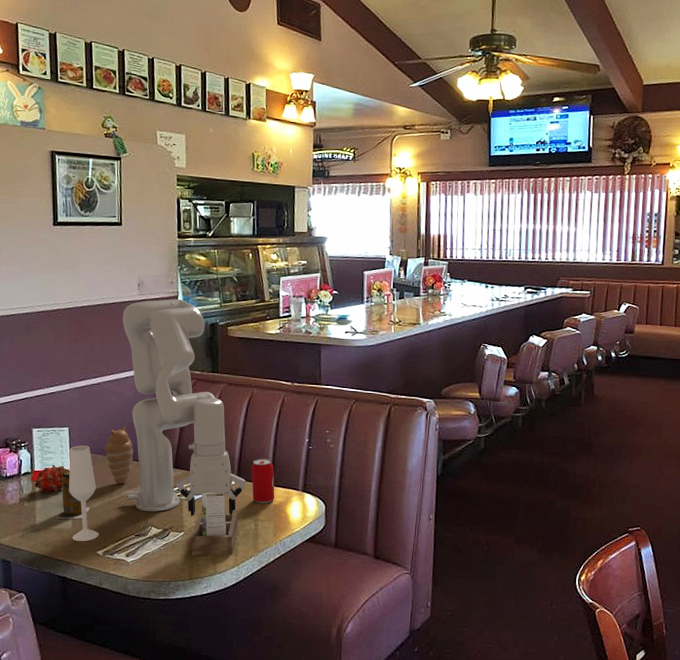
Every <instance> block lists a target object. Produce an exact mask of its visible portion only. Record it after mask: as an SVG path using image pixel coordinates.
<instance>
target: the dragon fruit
mask: <svg viewBox="0 0 680 660" xmlns="http://www.w3.org/2000/svg"><path fill="white" fill-rule="evenodd" d="M51 466H52V467H45V468H43V470H42V471H40V472H38V474H37V479H36V482H35V484H34V487H35V488H38V491H39V492H40V493H41V494H42V493H50V492H51V491H54V492H55V493H57V492H58V491H59V490H61V489H62V482H63V473H64V472H66V471H69V470H68V469H67V468H65V466H64V465H63V466H61V465H60V466H55V464H52V465H51Z"/></svg>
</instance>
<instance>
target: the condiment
mask: <svg viewBox="0 0 680 660" xmlns="http://www.w3.org/2000/svg"><path fill="white" fill-rule="evenodd" d="M69 477H70V469H69V470H68V471H66V472H64V473H63V482H62V488H61V489H62V490H61V491H62V493H61V494H62V506H63V507H62V508H63V510H61V512H60V513H59V514H58V515H57V516H56V519H58V520H59V519H61V520H64V519H65V520H72V519H82V508H81V501H79V500H77V499H76V498H74V497H73V496H72V495H71V493H70V492H69ZM90 508H91V506H89V507H88V506H86V513H88V512H89V510H90Z"/></svg>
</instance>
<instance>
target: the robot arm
mask: <svg viewBox="0 0 680 660" xmlns="http://www.w3.org/2000/svg"><path fill="white" fill-rule="evenodd" d="M122 324H123V328H124V331H125V334H126V337H127V339H128V342H129V345H130V348H131V359H132V368H133V378H134V384H135V388H136V390H137V392H138V393H140V394H143V395H152V394H155V395H156V396H155V397H151V398H145V399H143V400H140V401H138V402H137V403H136V404H135V405H134V406H133V409H132V414H131V416H132V419H133V421H132V422H133V424H134V429H135V434H136V441H137V442H136V443H137V454H138V455H137V456H138V473H139V474H138V475H139V477H138V478H139V489H136V490H134V491H133V490H126V491H125V498H126V499H128V500H136V501H135V507H136V509H137V510H140V511H144V512H163V511H166V510H170V509H173V508H175V507H177V506H178V505H179V504H180V503H181V502H180V496H178V495H176V494H175V491H174V490H175V489H174V473H173V472H174V470H173V469H174V468H173V451H172V450H173V449H172V443H171V441H170V440H169V438H168V437H166V436H165V434H164V433H163V431H166V430H170V429H171V430H172V429H177V428H182V427H186V426H188V425H190V424H193V431H194V432H193V439H194V440H193V441H194V442H193V443H188V450H192V451H193V453H192V454H191V457H190V463H189V465H190V467H189V475H187V476H185V477H184V478H181V479H180V480H178V481H177V482H176V483H175V485H176V488H177V489H178V491H179V492H180V494H181V495H182V496H183V497H184V498H185V499H186V501H187V509H188V510H187V511H188V512H190V516H191V517H193V516H195V512H196V497H195V495H197V496H198V495H199V496H200V495H201V496H202V492H210V491H214V492H210V493H216V494H225V495H227V496H228V497H229V498H228V513H229V514H230V515H232V513H234V511H236V498H237V497H238V496H239V495H240V494H241V493H242V491H243V490H244V487H245V486H246V480H245V479H244V478H242V477H240V476H237V475H236V474H233V473H232V470H231V469H232V468H231V463H230V457H229V456H230V455H229V452H228V451H227V450H226V437H225V407H224V403H223V402H224V401H222V400H221V399H219V398H216V397H215V395H214V394H213V393H211V392H209V391H200V392H195V393H193V386H192V377H191V371H190V368H189V367H190V366H191V365H192V364H193V363H194V361H195V358H196V357H195V352H194V349H193V347H192V345H191V342H190V339H192V338H198V337H200V336H202V335H203V333H204V331H205V320H204V317H203V314H202V313H201V312H200V310H199V309H198V308H197V307H196V306H194V305H193V304H190V303H189V302H187V301H185V300H183V299H177V298H176V299H164V300H163V299H161V300H147V301H140V302H135V303H131V304H129V305H127V306H126V307H125V308H124V311H123V313H122ZM232 482H234V483H236V484H238V486H237V487H236V488H235V489H233V487H232V484H233V483H232ZM188 483H189V490H188V489H187V488H186V487H185V485H187V484H188Z"/></svg>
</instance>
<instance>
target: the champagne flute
mask: <svg viewBox="0 0 680 660" xmlns="http://www.w3.org/2000/svg"><path fill="white" fill-rule="evenodd" d="M69 451H70V453H69V470H70V477H69V492H70V493H71V495H72V496H73V497H74V498H76V499H77V500H79V501H81V508H82V518H81V520H82V522H81V523H82V529H81V530H80V531H78V532H77V533H75V534H73V536H72V539H73V541H75V542H76V541H77V542H86V541H92V540H95V539H96V538H97V537H99V532H98V531H95V530H93V529H89V527H88V515H87V513H88V512H87V513H86V507H87V502H86V501H87V500H89V499H90V498H91V497H92V496H93V494H94V493H95V491H96V489H97V485H96V479H95V473H94V468H93V462H92V456H91V450H90V446H88V445H77V446H73V447H71V448H70V449H69Z"/></svg>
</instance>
